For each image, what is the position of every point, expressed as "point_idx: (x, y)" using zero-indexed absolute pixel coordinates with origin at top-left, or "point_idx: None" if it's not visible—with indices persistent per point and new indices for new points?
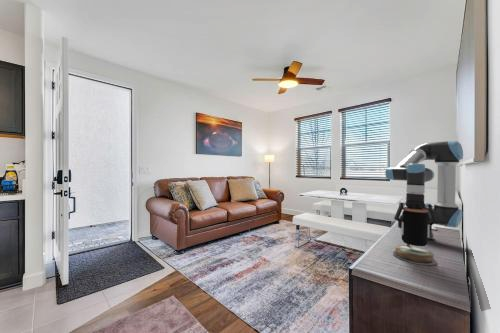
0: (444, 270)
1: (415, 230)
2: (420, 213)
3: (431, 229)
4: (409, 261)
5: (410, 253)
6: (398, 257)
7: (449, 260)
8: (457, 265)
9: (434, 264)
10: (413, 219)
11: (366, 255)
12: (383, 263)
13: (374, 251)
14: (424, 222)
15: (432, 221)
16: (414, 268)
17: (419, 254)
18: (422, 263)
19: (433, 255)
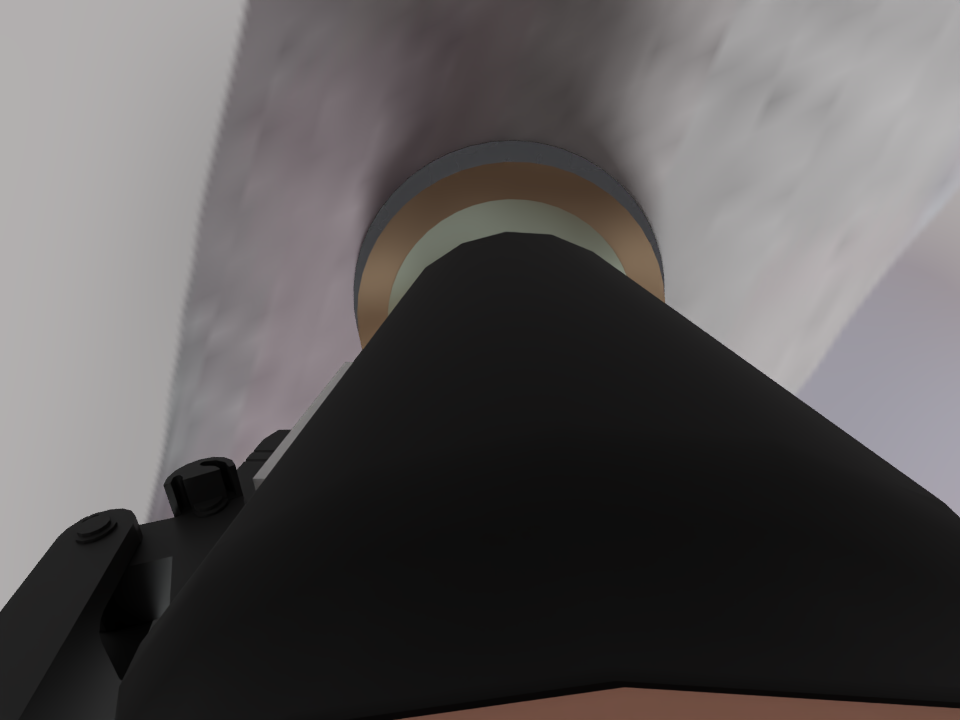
0: (351, 83)
1: (592, 267)
2: (533, 625)
3: (261, 442)
4: (594, 167)
5: (580, 220)
6: (655, 239)
7: (243, 358)
8: (214, 264)
9: (391, 196)
10: (751, 374)
11: (941, 201)
12: (873, 25)
13: (800, 343)
14: (383, 363)
15: (136, 572)
16: (609, 11)
17: (501, 218)
18: (493, 160)
19: (369, 255)
